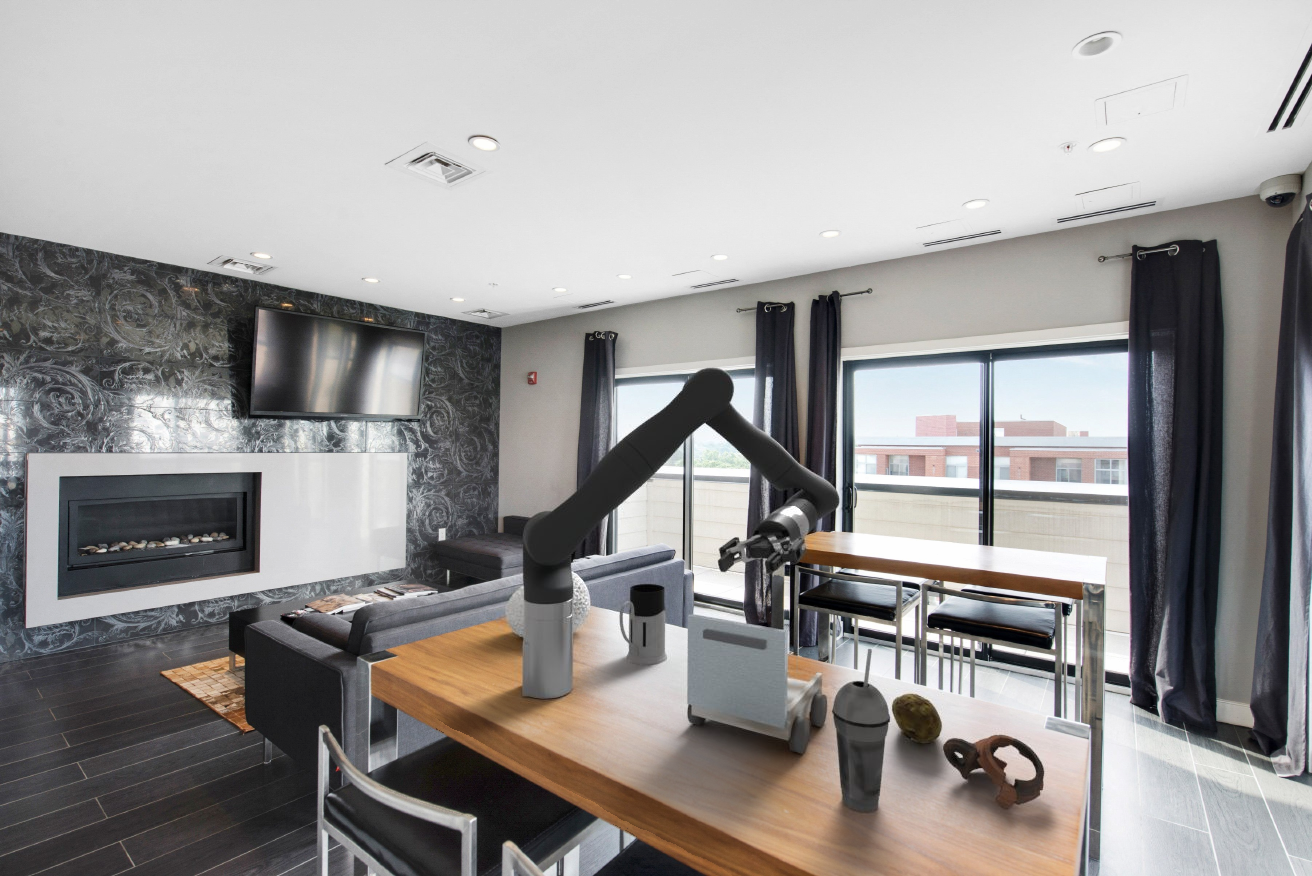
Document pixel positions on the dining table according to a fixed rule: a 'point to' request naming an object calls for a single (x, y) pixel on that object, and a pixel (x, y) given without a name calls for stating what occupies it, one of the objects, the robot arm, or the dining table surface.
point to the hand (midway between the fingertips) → (744, 567)
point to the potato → (917, 718)
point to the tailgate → (738, 669)
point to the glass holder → (645, 624)
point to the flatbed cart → (799, 705)
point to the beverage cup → (860, 741)
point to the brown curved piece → (996, 766)
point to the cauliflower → (579, 607)
